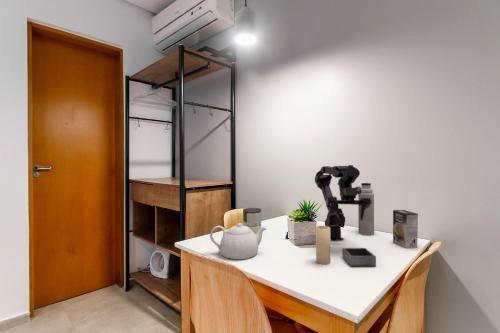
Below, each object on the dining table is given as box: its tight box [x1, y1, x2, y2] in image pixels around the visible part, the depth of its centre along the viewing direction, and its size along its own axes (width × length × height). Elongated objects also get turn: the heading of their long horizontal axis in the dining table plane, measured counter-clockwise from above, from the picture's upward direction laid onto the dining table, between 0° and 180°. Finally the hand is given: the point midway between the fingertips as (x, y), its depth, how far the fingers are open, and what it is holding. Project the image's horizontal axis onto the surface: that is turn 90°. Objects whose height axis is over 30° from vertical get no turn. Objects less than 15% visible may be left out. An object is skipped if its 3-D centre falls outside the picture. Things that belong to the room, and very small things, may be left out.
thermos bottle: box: [357, 182, 375, 236], centre depth 146 cm, size 8×8×28 cm
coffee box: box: [392, 209, 419, 249], centre depth 126 cm, size 9×6×16 cm
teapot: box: [209, 222, 267, 260], centre depth 118 cm, size 19×18×14 cm
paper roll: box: [315, 225, 332, 265], centre depth 107 cm, size 6×6×14 cm
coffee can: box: [242, 207, 262, 235], centre depth 147 cm, size 10×10×14 cm
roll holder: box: [341, 247, 377, 268], centre depth 106 cm, size 10×10×4 cm
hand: (350, 220), depth 114 cm, fingers open, 9 cm apart
